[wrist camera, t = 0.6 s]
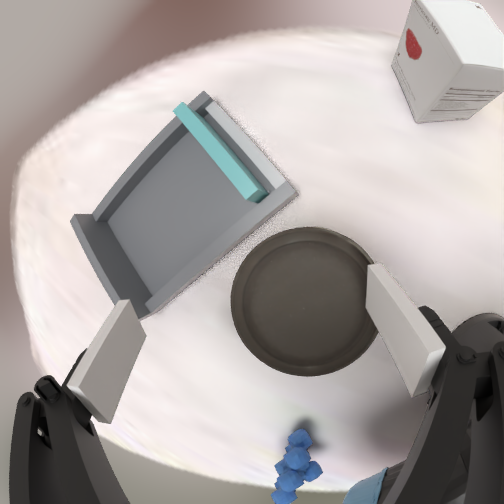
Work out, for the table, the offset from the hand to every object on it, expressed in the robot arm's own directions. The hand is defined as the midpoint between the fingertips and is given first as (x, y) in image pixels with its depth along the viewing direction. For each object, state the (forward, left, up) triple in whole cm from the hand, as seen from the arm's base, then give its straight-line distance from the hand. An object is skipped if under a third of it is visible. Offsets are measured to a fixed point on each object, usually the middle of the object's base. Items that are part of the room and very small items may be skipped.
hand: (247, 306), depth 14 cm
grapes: (-24, +14, -18) cm, 33 cm away
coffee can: (-3, -2, -18) cm, 18 cm away
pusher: (+14, -2, -17) cm, 22 cm away
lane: (+14, +7, -18) cm, 24 cm away
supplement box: (+5, -29, -18) cm, 34 cm away
